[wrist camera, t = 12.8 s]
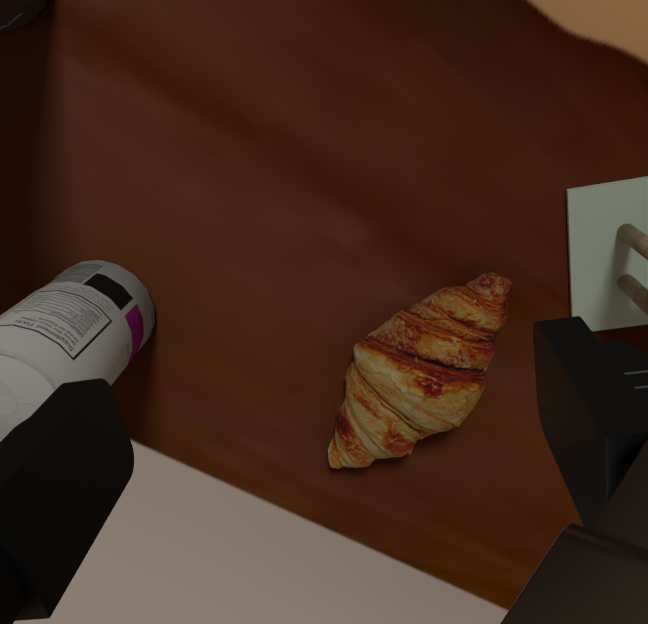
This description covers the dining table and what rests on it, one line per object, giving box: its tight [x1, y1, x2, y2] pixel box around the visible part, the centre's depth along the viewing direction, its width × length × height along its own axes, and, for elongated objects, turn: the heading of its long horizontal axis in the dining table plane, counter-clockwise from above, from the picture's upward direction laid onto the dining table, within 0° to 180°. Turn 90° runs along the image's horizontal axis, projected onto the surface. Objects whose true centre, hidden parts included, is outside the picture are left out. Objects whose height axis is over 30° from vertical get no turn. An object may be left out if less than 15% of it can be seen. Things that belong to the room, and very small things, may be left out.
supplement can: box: [0, 260, 154, 442], centre depth 42 cm, size 8×8×15 cm
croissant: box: [328, 272, 513, 469], centre depth 47 cm, size 21×10×8 cm, turn 146°
